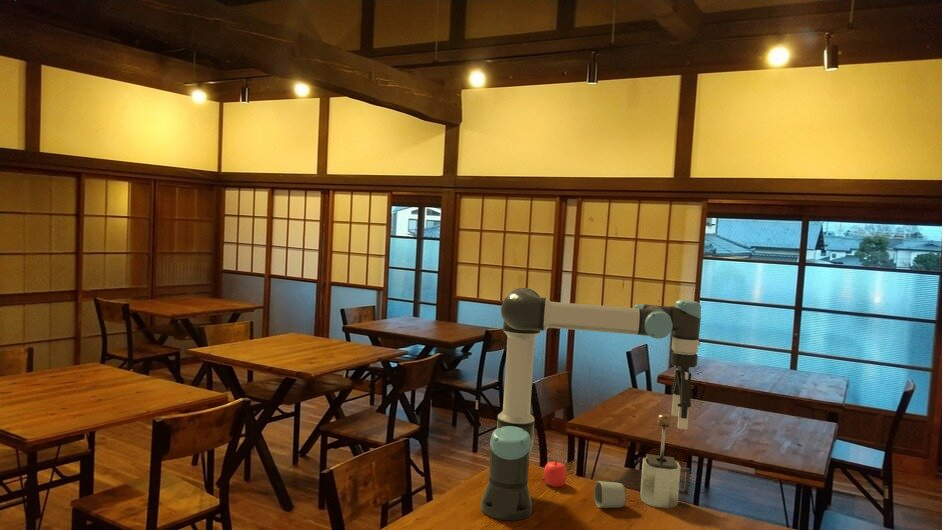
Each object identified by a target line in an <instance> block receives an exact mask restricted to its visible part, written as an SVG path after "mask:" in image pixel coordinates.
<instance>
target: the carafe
mask: <svg viewBox="0 0 943 530" xmlns="http://www.w3.org/2000/svg"><path fill="white" fill-rule="evenodd" d="M659 467H664V468H659ZM668 468H671V469H668ZM681 473H685V474H684V487H683V488H680V479H681V478H680V477H681ZM690 473H691V469H690V468H689V467H686V466H685V467H682V466H681V464H680V462H679V461H677V460H675V457H673V456H665V455H664V458H663V462H660V455H655V454H646V457H642V464H641V476H640V477H641V480H640V490H639V491H640V493H639V495H640V500H641V502H642V503H644V504H645V505H647V506H649V507H653V508H656V509H657V508H658V509H663V510H664V509H665V510H666V509H668V510H669V509H673V508H675V507H676V506H678V503H679V494H681V495H689V485H690V475H691V474H690Z"/></svg>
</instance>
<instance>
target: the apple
mask: <svg viewBox="0 0 943 530" xmlns="http://www.w3.org/2000/svg"><path fill="white" fill-rule="evenodd" d="M567 475H568V474H567V467H566V466H565V464H564V463H562V462H558V460H555V461H550V462H549V461H548V462H547V463H546V464H545V466H544V470H543V476H544V478H543V479H544V483H546V484H547V485H548V486H550V487H551V486H552V488H558V487H559V486H560V487H563V486H564V485H565V484H566V480H567Z"/></svg>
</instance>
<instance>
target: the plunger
mask: <svg viewBox="0 0 943 530" xmlns="http://www.w3.org/2000/svg"><path fill="white" fill-rule="evenodd" d="M672 418H673V416H672V414H667V413H658V417H657V426H660V427H661V428H662V430H661V443H660V444H661V445H660V455H659V456H660V462H663V458H664V456H665V442H666V430H667V428H671V426H672V420H673V419H672ZM659 468H664V467H659ZM668 469H671V468H668Z"/></svg>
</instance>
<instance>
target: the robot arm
mask: <svg viewBox="0 0 943 530" xmlns="http://www.w3.org/2000/svg"><path fill="white" fill-rule="evenodd" d="M500 314H501V318H502V319H503V322H502V323H503V328H502V331H503V332H504V333H505V335H506V336H507V337H506V338H507V339H506V340H507V341H506V357H505V369H504V387H503V389H504V391H503V402H502V403H503V404H502V411H501V412H500V413H498V414H497V420H496V421H497V424H496V429H494V431H493V432H492V433H491V437H490V441H489V445H490V446H489V447H490V448H489V449H490V450H489V451H490V452H489V465H488V466H489V467H488V468H489V469H488V481H487V484H486V487H485V490H484V492H483V495H482V497H481V502H480V509H481V512H482V513H484V514H485V515H486V516H488V517H490V518H492V519H496V520H501V521H521V520H524V519H527V518H529V517H530V516H531V515H532V514H533V513H532V512H533V503H532V498H531V494H530V490H529V486H528V481H529V469H530V468H529V467H530V458H531V454H532V450H533V446H534V443H535V441H536V439H535V416H533V415H532V413H531V406H532V405H531V403H532V390H533V389H532V387H533V374H534V373H533V372H534V355H535V344H536V343H535V341H536V337H537V336H540V334H541V332H543V331H544V332H546V330H549V328H550V329H562V330H571V331H572V330H573V331H587V332H599V333H611V334H624V335H636V336H644V337H645V336H646V337H650V338H653V339H658V340H659V339H660V340H661V339H664V338H666V337H667V336H669V335H670V334H671V332H672V340H671V350H672V352H671V355H670V356H671V357H670V363H671V365H672V366H675V369H674V370H675V371H674V376H673V377H674V378H673V385H672V388H671V389H672V404H671V405H672V406H671V416H672V417H673V416H674V417H677V429H679V430H688V428H689V425H688V424H689V413H690V412H689V411H690V408H691V407H692V403H691V402H692V394H691V393H692V390H691V388H692V387H691V386H692V381H691V380H692V373H691V372H690V368H696V367H697V365H698V358H699V357H698V354H697V353H699V346H700V347H701V342H699V340H700V332H701V331H700V329H701V320H702V305H701V303H700V302H698V301H696V300H695V301H694V300H687V299H686V300H685V299H683V300H682V299H681V300H680V299H679V300H676V301H675V303H674V305H673V306H666V305H665V306H664V305H657V304H647V303H644V304H643V303H642V304H641V303H639V304H637V303H636V304H635V305H634V307H623V306H622V307H621V306H612V305H611V306H610V305H597V304H586V303H573V302H572V303H571V302H558V301H551V300H550V299H549V298H548V297H543V296H542V297H541V296H540V295H539V293H538V292H537V291H535V290H533V289H532V288H528V287H527V288H526V287H519V288H515V289H514V290H512V291H511V292H510V293H509V294H508V295H507V296H506V297H504V299H503V301H502V303H501V307H500Z"/></svg>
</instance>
